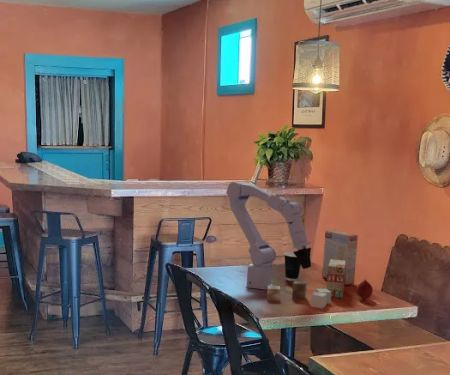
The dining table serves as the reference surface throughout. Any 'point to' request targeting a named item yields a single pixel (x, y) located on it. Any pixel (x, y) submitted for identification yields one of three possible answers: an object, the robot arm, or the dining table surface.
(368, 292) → the onion
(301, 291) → the walnut bar
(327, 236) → the cracker box
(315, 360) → the dining table surface
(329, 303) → the sage block
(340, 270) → the stack of blocks
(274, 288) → the maple block
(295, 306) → the dining table surface
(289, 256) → the dixie cup
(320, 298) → the white block
